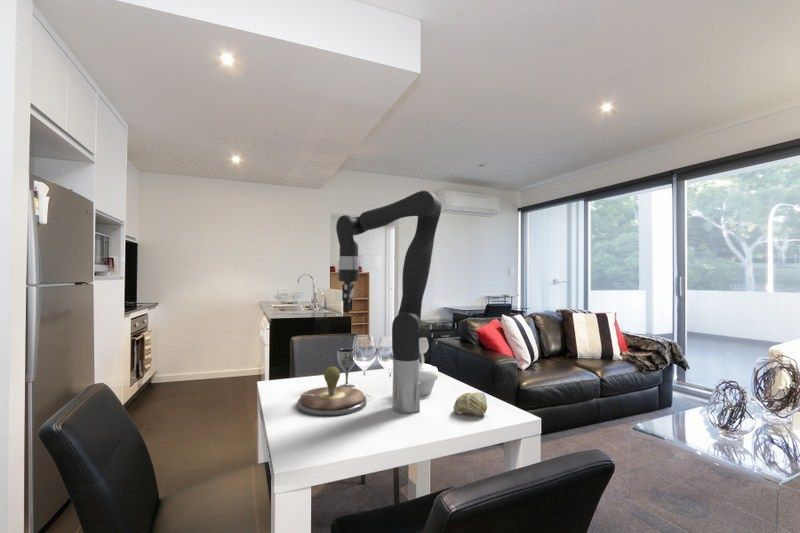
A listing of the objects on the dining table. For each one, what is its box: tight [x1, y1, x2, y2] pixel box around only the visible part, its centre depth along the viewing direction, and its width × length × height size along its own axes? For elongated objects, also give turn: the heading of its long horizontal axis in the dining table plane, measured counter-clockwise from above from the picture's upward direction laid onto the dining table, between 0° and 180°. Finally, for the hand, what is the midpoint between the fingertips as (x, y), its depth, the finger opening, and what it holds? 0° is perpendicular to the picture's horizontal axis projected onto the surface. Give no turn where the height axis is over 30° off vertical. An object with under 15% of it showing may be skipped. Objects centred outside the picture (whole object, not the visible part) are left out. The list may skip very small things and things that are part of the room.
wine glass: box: [336, 347, 356, 388], centre depth 157 cm, size 8×8×15 cm
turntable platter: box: [299, 386, 365, 410], centre depth 135 cm, size 22×22×2 cm
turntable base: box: [296, 395, 367, 418], centre depth 135 cm, size 24×24×2 cm
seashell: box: [453, 391, 488, 417], centre depth 127 cm, size 10×10×10 cm
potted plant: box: [419, 334, 439, 396], centre depth 150 cm, size 13×12×25 cm
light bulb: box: [323, 365, 341, 395], centre depth 135 cm, size 6×6×10 cm
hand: (348, 311), depth 144 cm, fingers open, 8 cm apart
